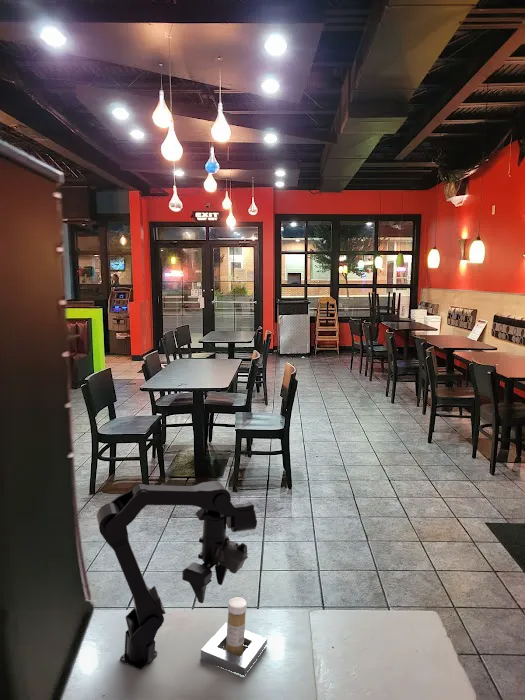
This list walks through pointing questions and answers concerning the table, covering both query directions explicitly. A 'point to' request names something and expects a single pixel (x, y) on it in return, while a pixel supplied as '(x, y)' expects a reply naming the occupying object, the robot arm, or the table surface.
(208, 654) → the metal collar
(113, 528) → the robot arm
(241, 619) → the sprinkles bottle
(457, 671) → the table surface
